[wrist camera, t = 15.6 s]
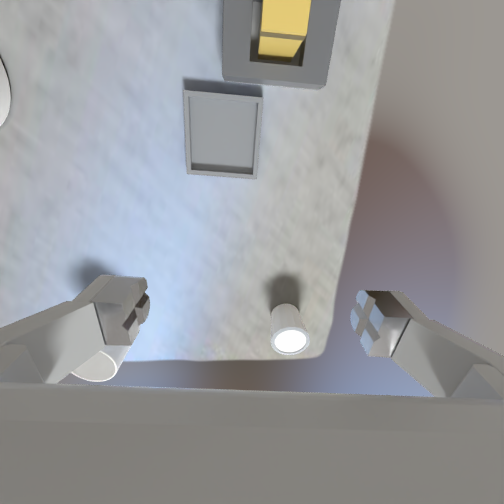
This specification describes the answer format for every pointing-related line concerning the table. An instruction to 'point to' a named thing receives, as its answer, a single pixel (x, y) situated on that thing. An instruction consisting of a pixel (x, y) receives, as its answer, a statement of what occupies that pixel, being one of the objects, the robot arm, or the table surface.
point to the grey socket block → (268, 71)
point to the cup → (102, 363)
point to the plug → (282, 28)
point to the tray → (222, 134)
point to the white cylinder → (288, 330)
